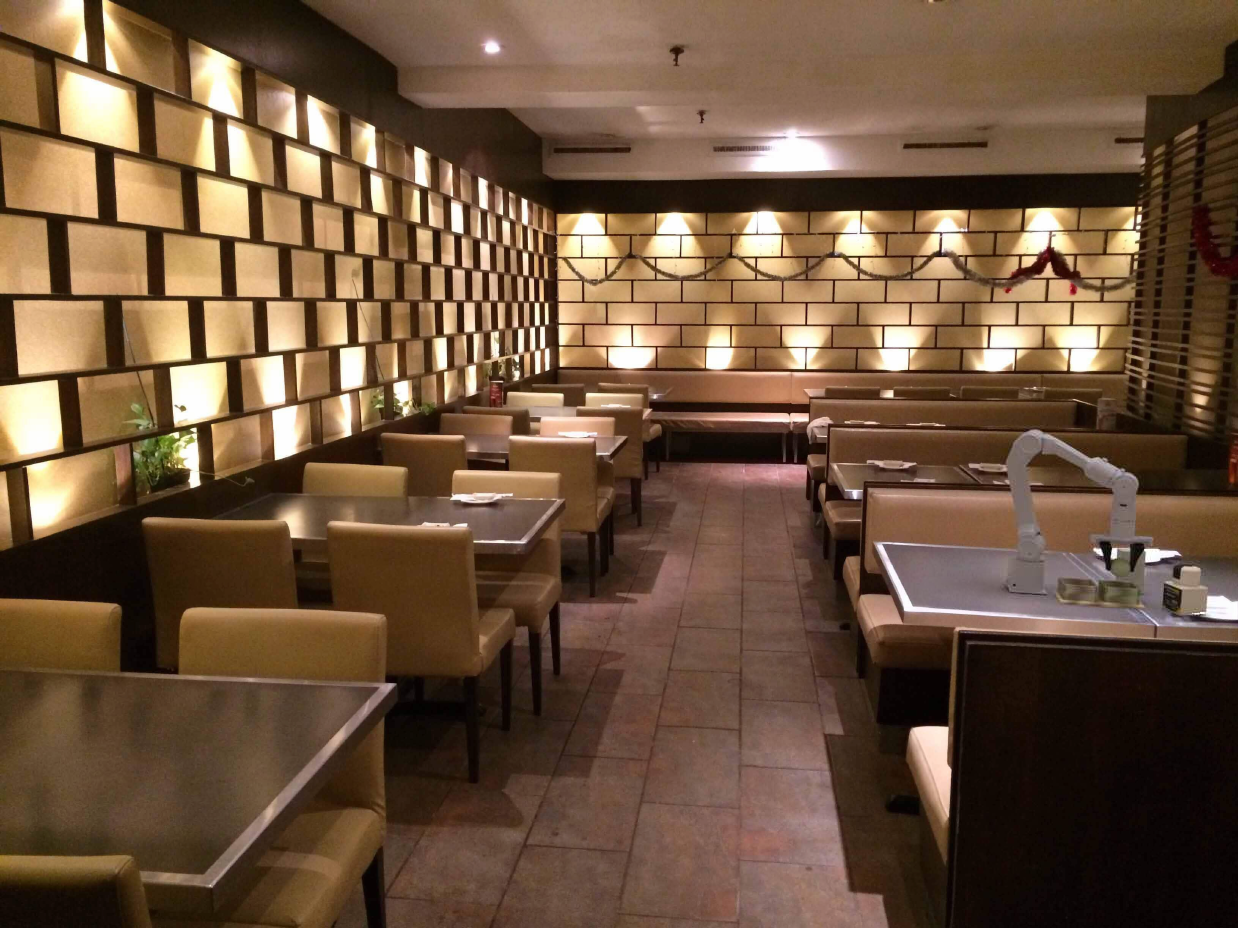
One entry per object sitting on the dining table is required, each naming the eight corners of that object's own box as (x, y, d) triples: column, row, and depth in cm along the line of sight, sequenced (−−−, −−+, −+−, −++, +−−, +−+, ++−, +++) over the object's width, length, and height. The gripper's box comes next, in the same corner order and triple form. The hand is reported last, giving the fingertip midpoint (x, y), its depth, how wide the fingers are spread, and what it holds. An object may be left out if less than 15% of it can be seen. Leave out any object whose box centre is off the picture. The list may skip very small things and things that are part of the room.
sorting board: (1060, 603, 254) (1061, 586, 253) (1053, 593, 264) (1054, 576, 264) (1145, 609, 249) (1146, 592, 248) (1134, 598, 259) (1135, 581, 259)
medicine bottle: (1161, 608, 250) (1164, 562, 249) (1187, 607, 251) (1191, 562, 249) (1179, 615, 243) (1183, 569, 242) (1206, 615, 244) (1210, 568, 242)
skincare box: (1136, 590, 267) (1139, 548, 266) (1143, 594, 263) (1146, 551, 262) (1113, 590, 268) (1116, 547, 266) (1120, 594, 264) (1123, 550, 262)
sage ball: (1110, 578, 253) (1112, 559, 253) (1106, 573, 258) (1107, 555, 257) (1131, 579, 252) (1133, 560, 251) (1127, 575, 257) (1128, 556, 256)
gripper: (1095, 521, 251) (1092, 572, 253) (1158, 523, 247) (1154, 575, 249) (1090, 516, 258) (1087, 566, 260) (1150, 518, 254) (1147, 569, 256)
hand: (1119, 570), depth 255 cm, fingers closed on sage ball, 5 cm apart
